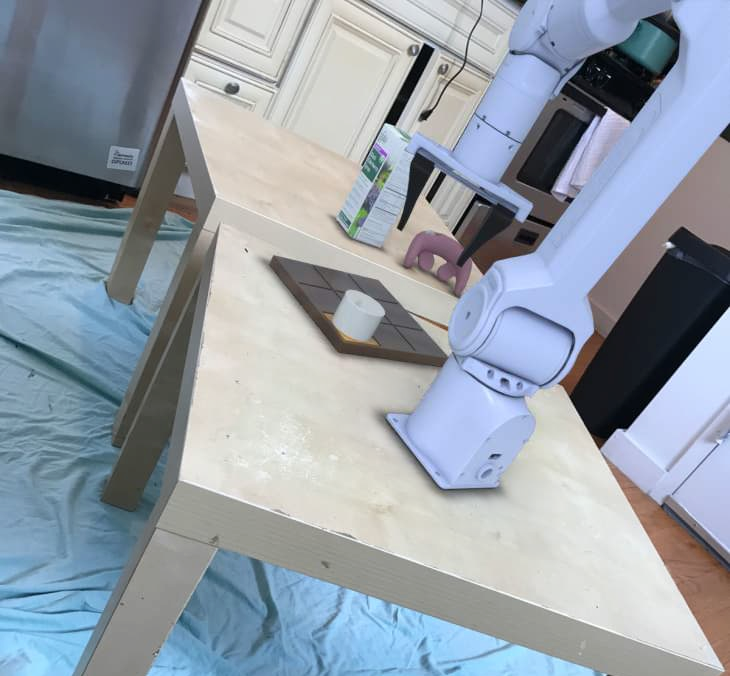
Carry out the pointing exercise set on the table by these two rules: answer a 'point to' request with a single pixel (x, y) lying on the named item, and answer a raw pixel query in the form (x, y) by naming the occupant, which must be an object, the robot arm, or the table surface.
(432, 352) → the board
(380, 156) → the syrup box
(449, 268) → the video game controller
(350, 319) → the white squat cylinder
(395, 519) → the table surface
